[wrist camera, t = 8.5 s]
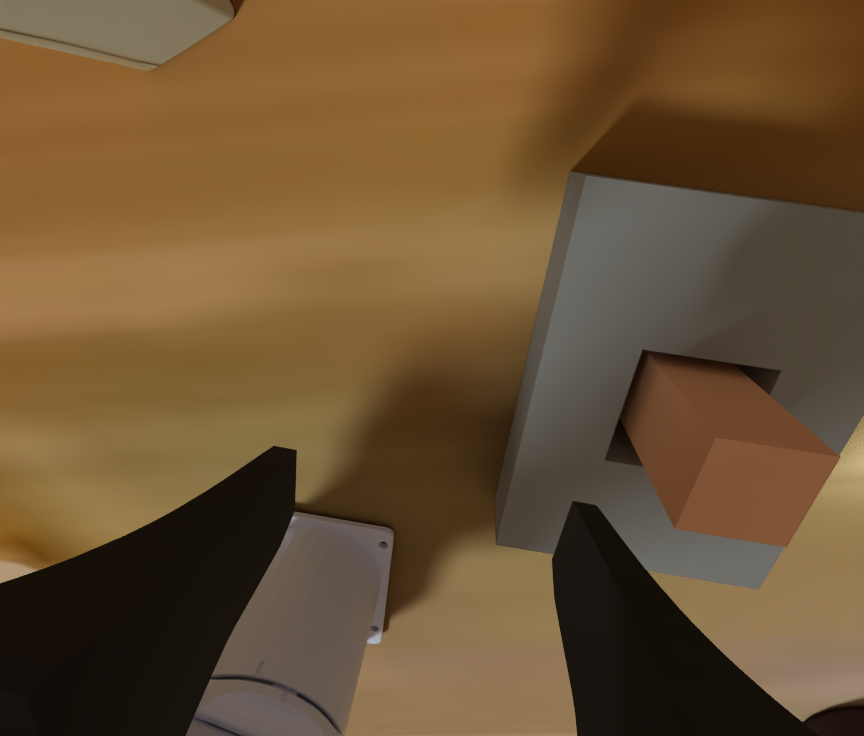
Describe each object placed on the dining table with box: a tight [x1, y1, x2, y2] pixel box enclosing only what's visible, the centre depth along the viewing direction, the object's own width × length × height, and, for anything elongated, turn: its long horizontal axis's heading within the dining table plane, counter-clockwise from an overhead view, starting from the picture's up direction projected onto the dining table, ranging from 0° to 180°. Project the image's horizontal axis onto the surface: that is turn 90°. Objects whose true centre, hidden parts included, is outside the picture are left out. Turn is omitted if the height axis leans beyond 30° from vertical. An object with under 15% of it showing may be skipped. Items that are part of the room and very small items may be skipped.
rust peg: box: [619, 349, 840, 547], centre depth 17 cm, size 3×3×8 cm
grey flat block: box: [495, 171, 864, 590], centre depth 20 cm, size 16×12×3 cm
